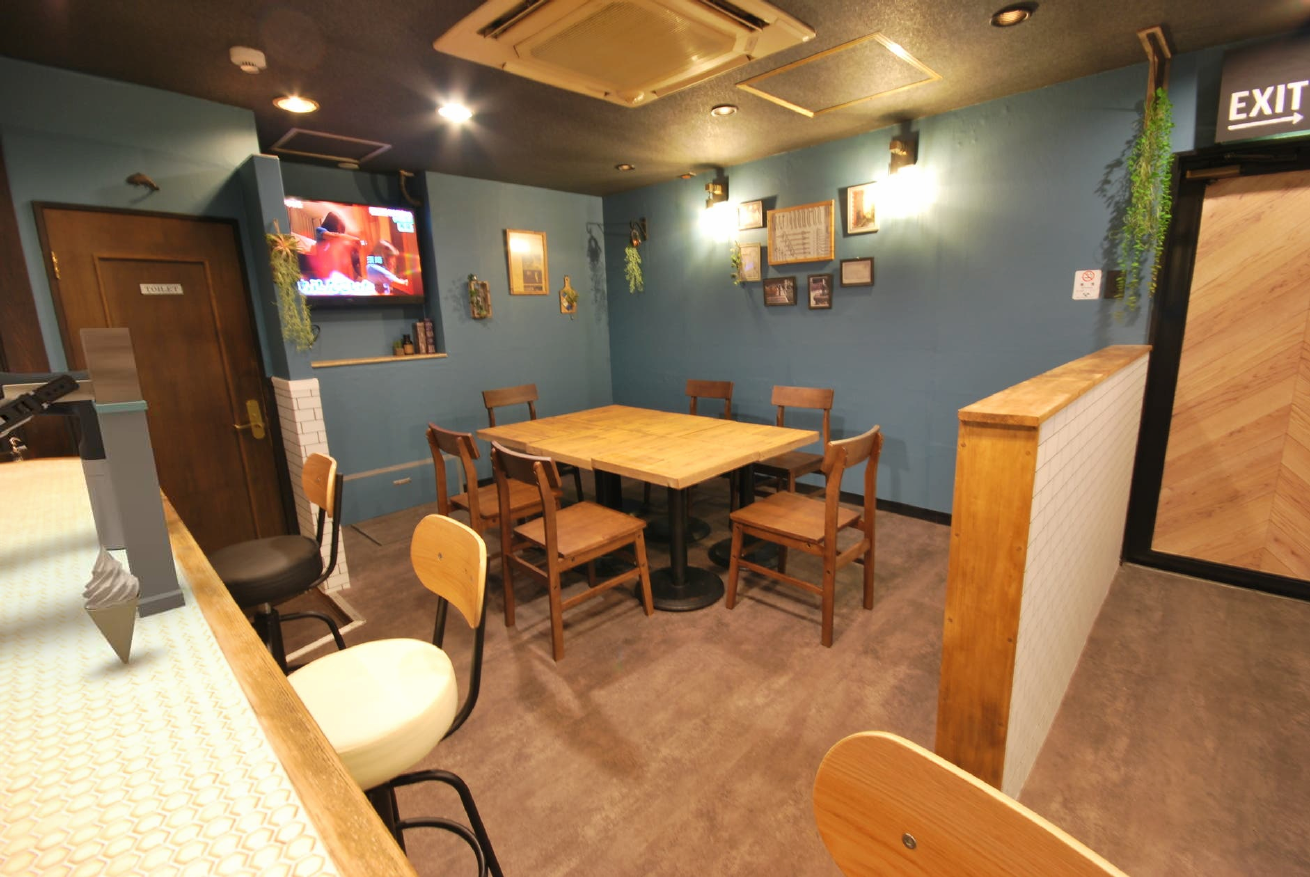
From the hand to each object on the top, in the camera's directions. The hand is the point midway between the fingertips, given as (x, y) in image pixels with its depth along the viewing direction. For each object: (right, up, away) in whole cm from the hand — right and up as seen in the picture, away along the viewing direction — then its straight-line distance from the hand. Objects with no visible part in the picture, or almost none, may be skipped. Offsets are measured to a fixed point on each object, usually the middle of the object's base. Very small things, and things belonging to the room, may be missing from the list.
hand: (73, 379), depth 79 cm
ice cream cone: (+15, -35, -9) cm, 39 cm away
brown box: (0, -3, +1) cm, 3 cm away
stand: (+4, -32, +9) cm, 33 cm away
